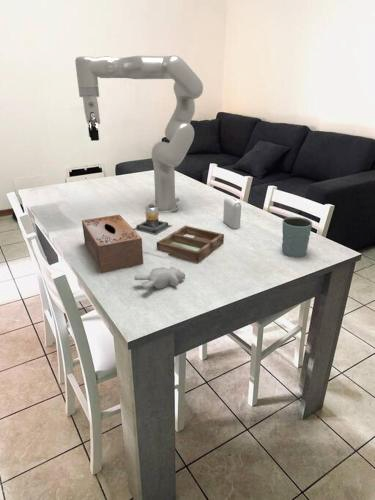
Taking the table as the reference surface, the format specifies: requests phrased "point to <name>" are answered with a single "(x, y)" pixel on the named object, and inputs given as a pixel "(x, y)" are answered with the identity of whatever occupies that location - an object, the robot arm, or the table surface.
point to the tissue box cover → (112, 243)
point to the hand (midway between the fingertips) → (94, 138)
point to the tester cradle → (154, 231)
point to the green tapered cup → (295, 236)
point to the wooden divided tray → (191, 243)
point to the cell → (152, 216)
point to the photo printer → (232, 212)
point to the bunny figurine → (161, 278)
